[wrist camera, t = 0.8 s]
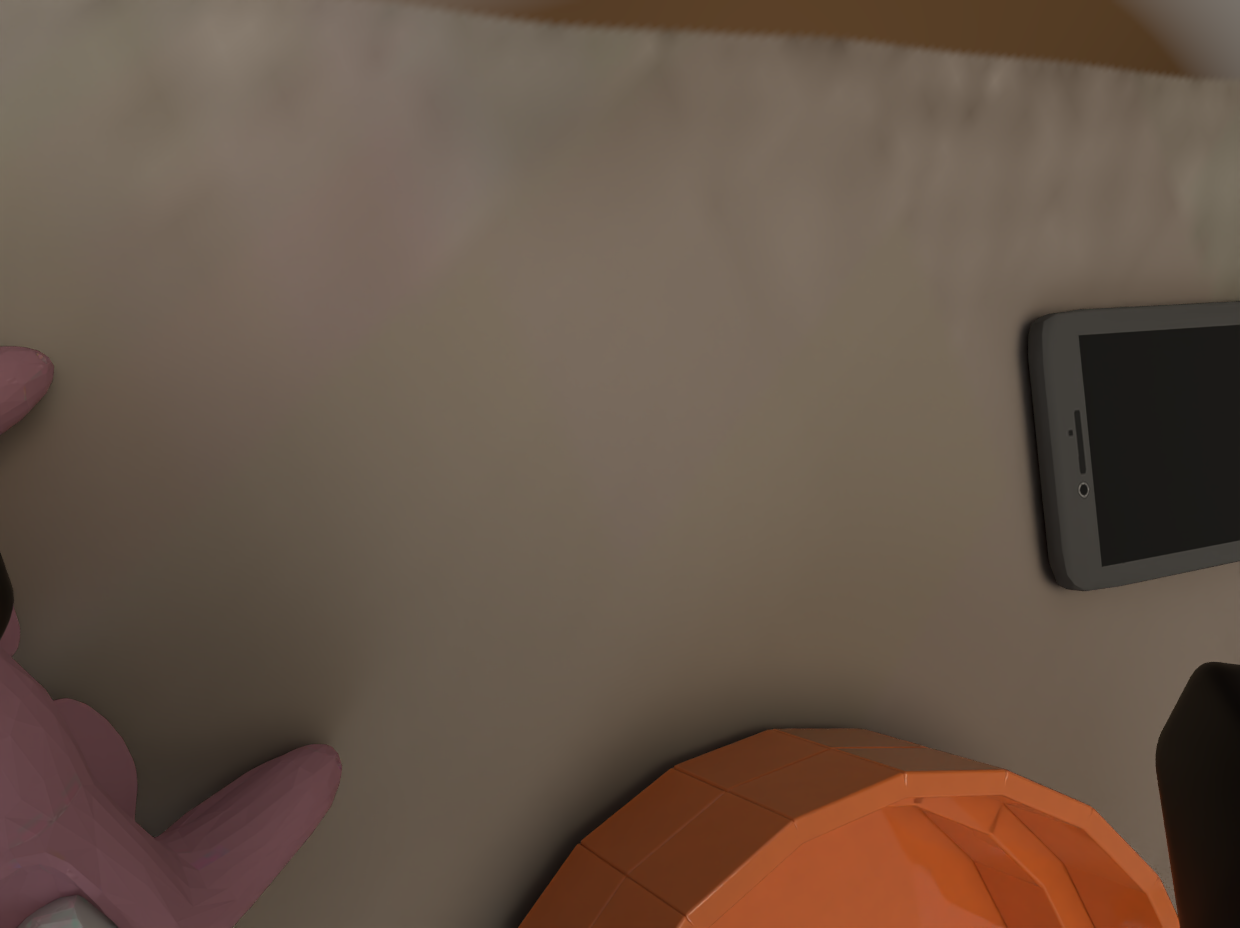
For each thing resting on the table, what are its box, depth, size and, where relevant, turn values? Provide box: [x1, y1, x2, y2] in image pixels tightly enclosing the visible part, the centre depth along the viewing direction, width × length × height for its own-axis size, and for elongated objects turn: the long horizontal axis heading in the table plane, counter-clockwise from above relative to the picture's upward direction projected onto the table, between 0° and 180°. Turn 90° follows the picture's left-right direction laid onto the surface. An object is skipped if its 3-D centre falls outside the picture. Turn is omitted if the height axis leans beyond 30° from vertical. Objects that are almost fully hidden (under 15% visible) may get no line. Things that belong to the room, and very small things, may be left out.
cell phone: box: [1028, 301, 1240, 591], centre depth 31 cm, size 7×14×1 cm, turn 95°
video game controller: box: [0, 346, 342, 928], centre depth 16 cm, size 10×5×7 cm, turn 33°
